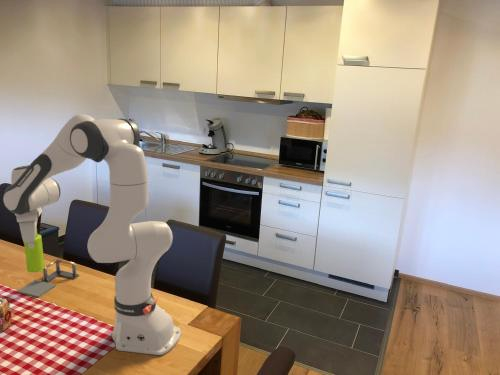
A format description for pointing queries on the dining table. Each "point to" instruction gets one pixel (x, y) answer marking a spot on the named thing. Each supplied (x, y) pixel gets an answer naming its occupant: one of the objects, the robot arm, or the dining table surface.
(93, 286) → the dining table surface
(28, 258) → the soap dispenser
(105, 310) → the dining table surface
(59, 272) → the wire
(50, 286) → the mat
